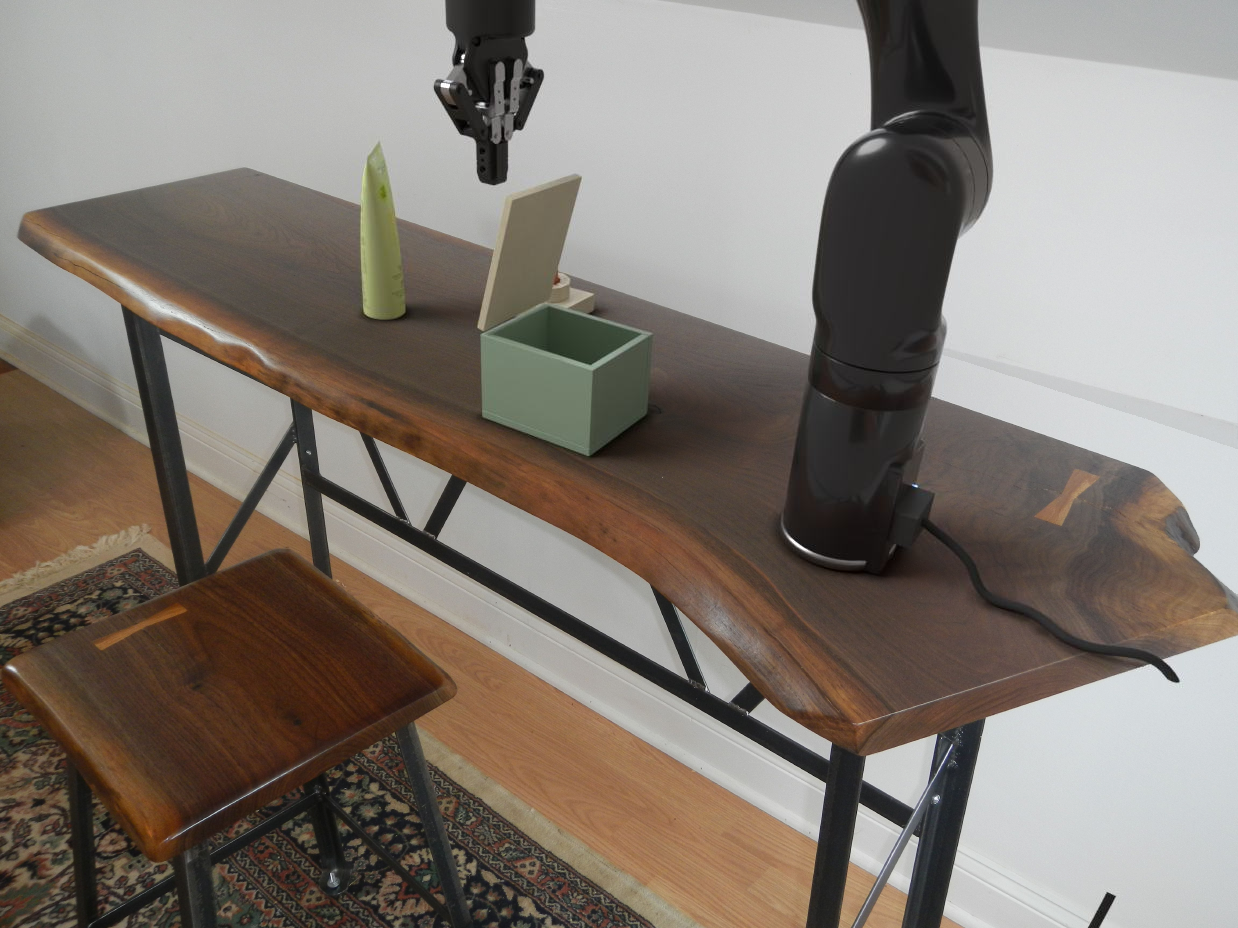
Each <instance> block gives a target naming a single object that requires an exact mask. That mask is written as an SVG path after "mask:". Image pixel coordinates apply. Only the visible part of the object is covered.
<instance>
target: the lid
mask: <svg viewBox="0 0 1238 928" xmlns="http://www.w3.org/2000/svg"><path fill="white" fill-rule="evenodd" d="M582 179H583V176H581V175H580V174H578V173H572V174H569V175H567V176H563V177H560V178H556V179H554V180H551V181H548V182H545V183H542V184H539V185H536V186H534V187H530V188H527V189H523V190H521V191H518V192H515V193H512V194H509V195H506V196H505V198H504V201H503V202H504V203H503V207H502V212H501V216H500V221H499V225H498V230H497V235H496V240H495V244H494V248H493V253H492V258H491V261H490V262H491V263H490V267H489V272H488V276H487V281H486V286H485V290H484V295H483V299H482V304H481V308H480V313H479V318H478V322H477V327H476V328H477V329H479V330H480V331H482V332H487V331H489V330H491V329H493V328H495V327H497V326H499V325H501V324H503V323H505V322H507V321H509V320H511V319H513V318H515V317H514V316H516V315H518V314H521V313H523V312H525V311H527V310H529V309H531V308H533V307H535V306H537V305H539V304H541V303H543V302H545V301H547V300H549V299H550V296H551V292H552V288H553V284H554V281H555V277H556V273H557V269H558V270H559V265H560V262H561V258H562V254H563V250H564V247H565V243H566V239H567V235H568V231H569V228H570V225H571V220H572V216H573V213H574V209H575V205H576V202H577V197H578V194H579V190H580V188H581V187H580V186H581V182H582Z"/></svg>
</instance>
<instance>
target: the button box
mask: <svg viewBox="0 0 1238 928" xmlns="http://www.w3.org/2000/svg"><path fill="white" fill-rule="evenodd" d="M595 297H596V296H595V293H592V292H589V291H585V290H583V289H578V288H574V287H571V278H570V277H569V276H568V275H566V274H565V273H562V272H558V284H555V285H553V288H552V292H551V296H550V299H549V300H547V301H545V302H543V303H541V304H539V305H537V306H535V307H533V308H531V309H529V310H527V311H525V312H523V313H521V314H518V315H516V316H514V317H513V318H515V317H517V316H520V315H522V314H524V313H526V312H528V311H530V310H532V309H534V308H536V307H538V306H540V305H542V304H544V303H546V302H547V303H551V304H554V305H558V306H561V307H565V308H568V309H571V310H575V311H578V312H582V313H585V314H590V313H592V312H593V311H595Z"/></svg>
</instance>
